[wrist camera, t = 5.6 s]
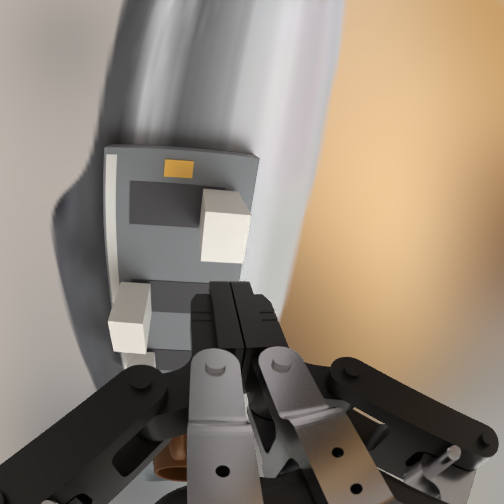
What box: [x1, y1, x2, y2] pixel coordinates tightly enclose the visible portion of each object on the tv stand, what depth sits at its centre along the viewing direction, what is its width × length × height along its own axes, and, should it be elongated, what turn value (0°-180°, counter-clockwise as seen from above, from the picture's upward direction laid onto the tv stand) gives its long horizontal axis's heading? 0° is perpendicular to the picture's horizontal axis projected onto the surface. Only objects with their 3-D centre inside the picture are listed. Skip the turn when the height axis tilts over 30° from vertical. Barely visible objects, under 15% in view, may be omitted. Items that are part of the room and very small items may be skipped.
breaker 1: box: [108, 282, 152, 354], centre depth 20 cm, size 3×2×5 cm
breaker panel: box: [103, 144, 260, 373], centre depth 24 cm, size 24×11×2 cm, turn 171°
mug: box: [153, 434, 187, 482], centre depth 30 cm, size 12×8×9 cm, turn 174°
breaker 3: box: [199, 189, 251, 264], centre depth 18 cm, size 3×2×5 cm
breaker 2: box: [127, 352, 156, 368], centre depth 24 cm, size 3×2×5 cm
